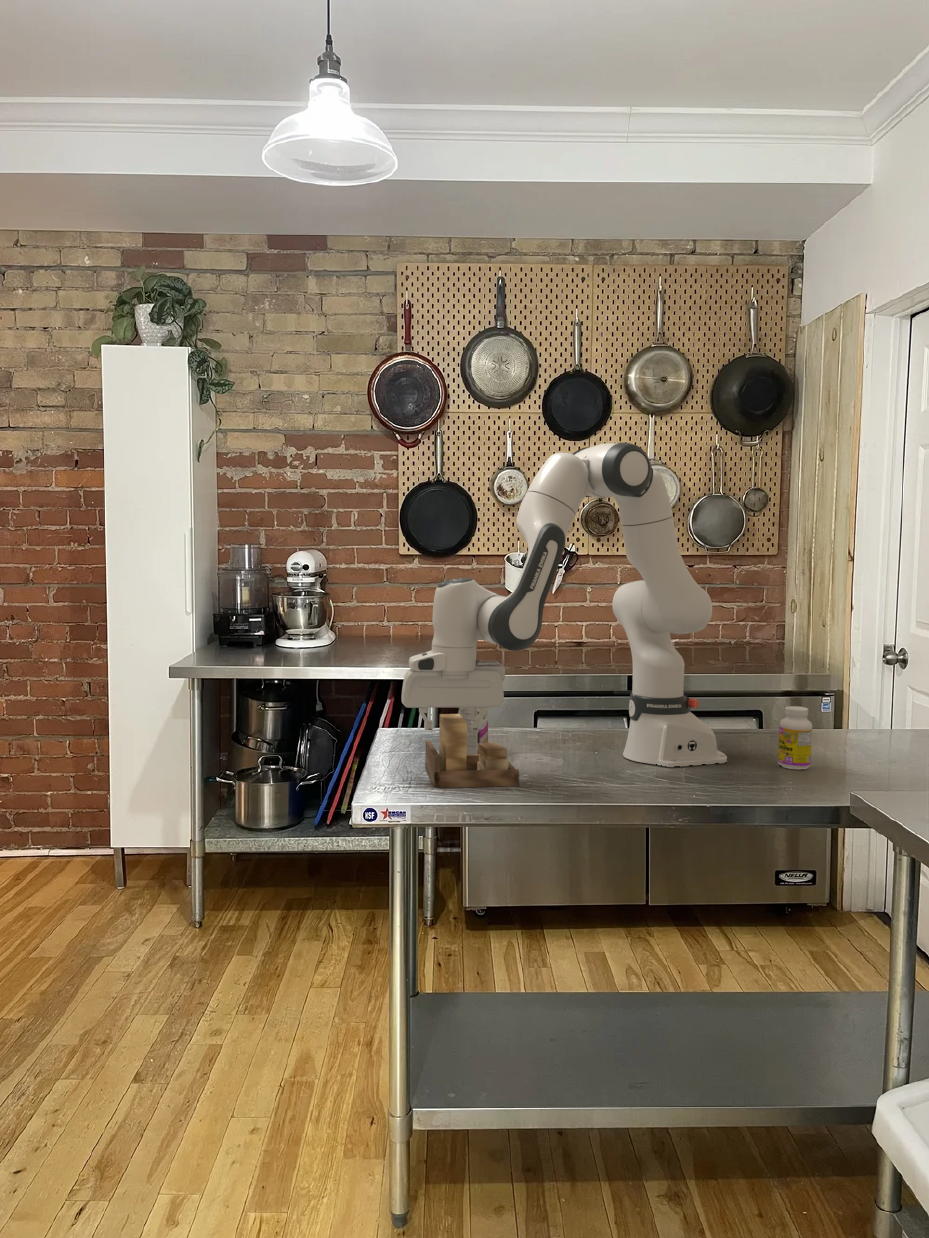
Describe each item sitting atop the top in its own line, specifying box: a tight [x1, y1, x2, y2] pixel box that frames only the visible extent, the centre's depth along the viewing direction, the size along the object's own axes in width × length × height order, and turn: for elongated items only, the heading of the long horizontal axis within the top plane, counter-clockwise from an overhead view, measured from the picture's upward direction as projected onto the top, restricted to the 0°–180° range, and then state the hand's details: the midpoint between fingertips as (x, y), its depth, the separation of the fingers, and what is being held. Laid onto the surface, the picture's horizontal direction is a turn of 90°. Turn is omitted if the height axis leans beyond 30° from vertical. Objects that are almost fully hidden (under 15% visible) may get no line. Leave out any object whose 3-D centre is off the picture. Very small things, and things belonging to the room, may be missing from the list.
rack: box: [424, 740, 520, 788], centre depth 190 cm, size 16×14×6 cm
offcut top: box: [478, 741, 508, 760], centre depth 190 cm, size 4×6×2 cm, turn 18°
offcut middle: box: [479, 754, 509, 770], centre depth 190 cm, size 4×8×2 cm, turn 9°
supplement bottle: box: [777, 705, 813, 768], centre depth 203 cm, size 7×7×13 cm
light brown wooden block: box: [438, 713, 467, 771], centre depth 189 cm, size 4×10×12 cm, turn 9°
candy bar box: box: [457, 707, 489, 754], centre depth 209 cm, size 11×5×16 cm, turn 168°
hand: (451, 729), depth 188 cm, fingers open, 8 cm apart
